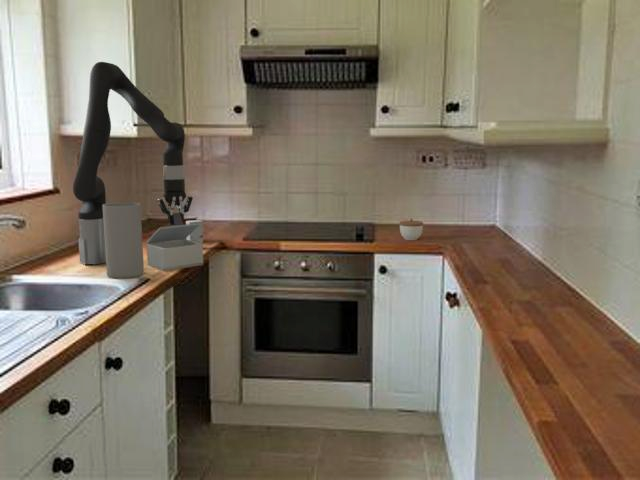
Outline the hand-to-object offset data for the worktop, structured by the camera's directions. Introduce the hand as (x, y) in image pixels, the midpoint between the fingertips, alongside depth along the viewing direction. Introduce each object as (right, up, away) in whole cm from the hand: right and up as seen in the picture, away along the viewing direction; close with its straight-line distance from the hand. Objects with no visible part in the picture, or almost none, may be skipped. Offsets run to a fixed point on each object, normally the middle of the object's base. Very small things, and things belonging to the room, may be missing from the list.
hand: (176, 224), depth 238 cm
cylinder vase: (-15, -18, -11) cm, 26 cm away
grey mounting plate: (-2, -4, +3) cm, 5 cm away
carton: (-1, -15, +4) cm, 16 cm away
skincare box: (0, -10, +36) cm, 37 cm away
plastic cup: (-7, -7, +51) cm, 52 cm away
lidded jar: (+95, -5, +58) cm, 111 cm away
